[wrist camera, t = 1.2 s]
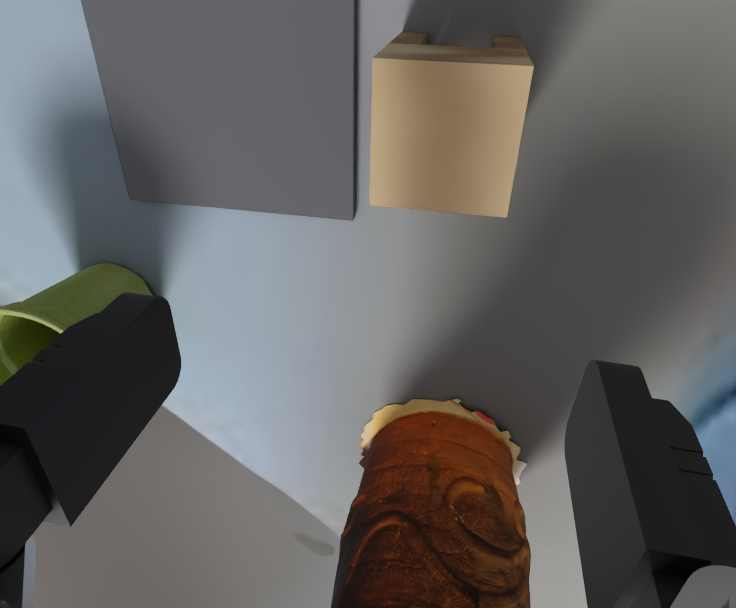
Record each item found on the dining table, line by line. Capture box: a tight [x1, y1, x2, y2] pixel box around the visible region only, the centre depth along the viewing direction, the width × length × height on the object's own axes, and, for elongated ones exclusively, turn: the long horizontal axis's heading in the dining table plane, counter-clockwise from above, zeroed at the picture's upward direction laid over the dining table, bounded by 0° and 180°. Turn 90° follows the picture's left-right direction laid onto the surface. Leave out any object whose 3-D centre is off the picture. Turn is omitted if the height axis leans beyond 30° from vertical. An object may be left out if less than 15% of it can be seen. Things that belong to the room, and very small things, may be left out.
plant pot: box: [0, 263, 153, 386], centre depth 34 cm, size 9×9×9 cm
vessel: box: [331, 399, 531, 608], centre depth 32 cm, size 14×14×20 cm
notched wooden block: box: [369, 32, 534, 218], centre depth 23 cm, size 6×6×8 cm
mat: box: [81, 0, 356, 221], centre depth 28 cm, size 14×14×1 cm
